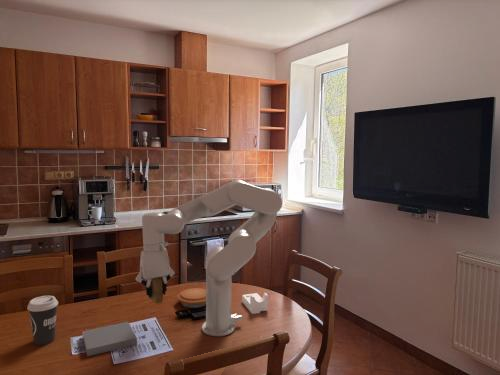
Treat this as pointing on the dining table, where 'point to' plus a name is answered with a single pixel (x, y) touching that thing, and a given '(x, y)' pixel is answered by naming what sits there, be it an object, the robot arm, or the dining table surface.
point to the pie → (193, 297)
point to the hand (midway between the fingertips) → (156, 294)
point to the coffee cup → (43, 319)
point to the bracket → (255, 302)
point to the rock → (157, 290)
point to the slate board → (108, 338)
